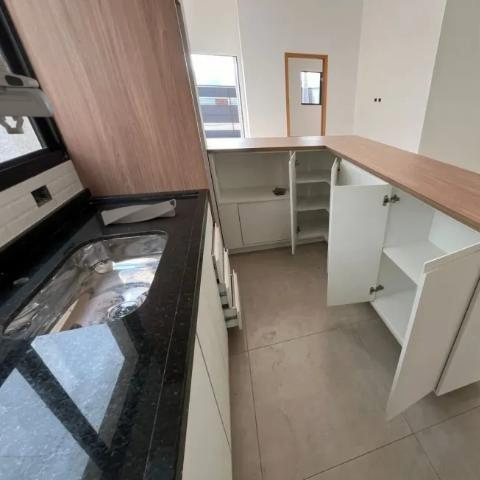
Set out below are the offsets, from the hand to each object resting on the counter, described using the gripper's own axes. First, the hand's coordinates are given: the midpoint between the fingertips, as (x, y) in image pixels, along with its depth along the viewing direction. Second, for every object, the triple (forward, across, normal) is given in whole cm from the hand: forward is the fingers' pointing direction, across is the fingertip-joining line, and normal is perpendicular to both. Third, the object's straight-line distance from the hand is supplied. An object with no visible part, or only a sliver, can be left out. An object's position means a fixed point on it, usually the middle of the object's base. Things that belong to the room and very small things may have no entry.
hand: (16, 133), depth 77 cm
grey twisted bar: (+36, +6, +20) cm, 41 cm away
